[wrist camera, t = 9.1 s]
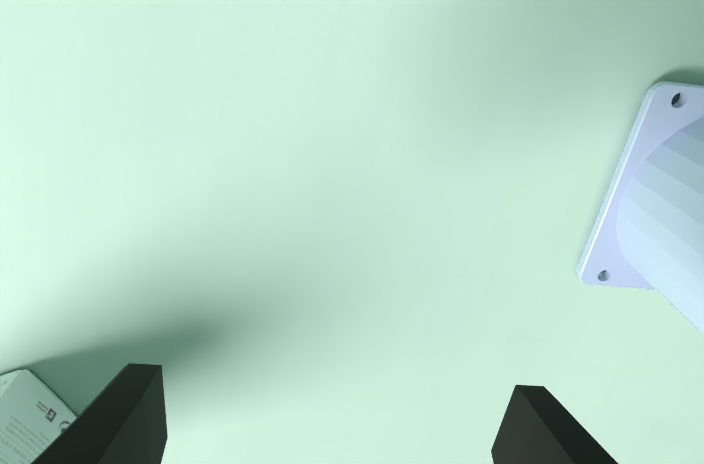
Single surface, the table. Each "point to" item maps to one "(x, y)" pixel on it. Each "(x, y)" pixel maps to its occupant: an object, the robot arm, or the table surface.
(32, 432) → the skincare box
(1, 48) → the table surface
